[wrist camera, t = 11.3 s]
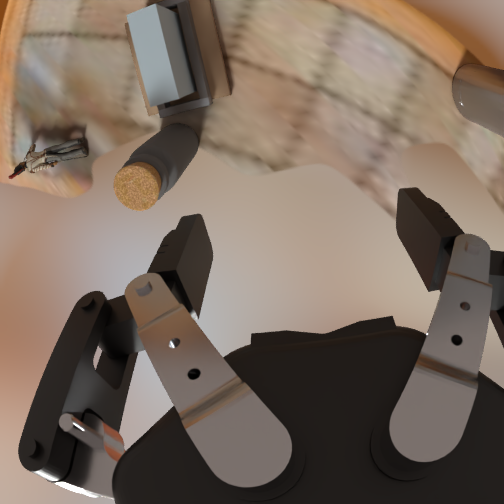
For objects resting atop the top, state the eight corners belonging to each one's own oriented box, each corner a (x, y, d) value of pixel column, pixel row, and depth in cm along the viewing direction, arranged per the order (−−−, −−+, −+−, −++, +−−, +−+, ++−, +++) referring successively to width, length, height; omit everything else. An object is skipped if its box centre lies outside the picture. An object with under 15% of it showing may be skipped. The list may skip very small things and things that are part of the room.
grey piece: (208, -6, 25) (203, -12, 22) (232, 97, 33) (229, 100, 31) (127, 21, 26) (116, 19, 24) (152, 117, 35) (144, 123, 33)
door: (178, 13, 26) (155, 3, 19) (197, 90, 32) (179, 98, 25) (154, 22, 26) (126, 15, 20) (173, 97, 32) (150, 107, 26)
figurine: (90, 130, 39) (20, 157, 37) (81, 117, 35) (9, 148, 33) (89, 161, 39) (17, 187, 37) (79, 150, 35) (5, 180, 33)
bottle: (165, 167, 39) (121, 221, 27) (153, 129, 36) (99, 169, 24) (204, 157, 39) (173, 210, 26) (192, 118, 35) (152, 151, 23)
